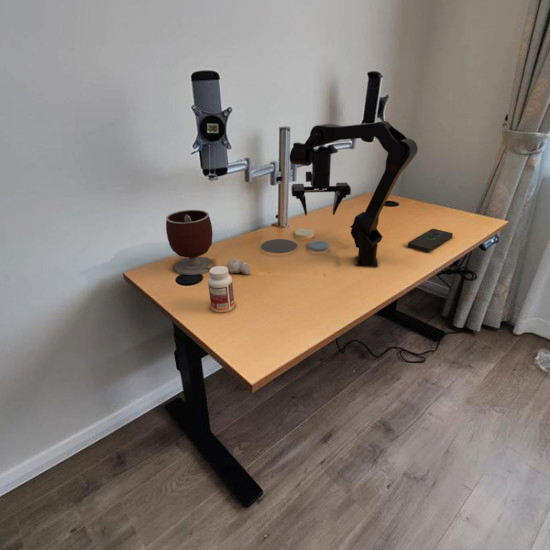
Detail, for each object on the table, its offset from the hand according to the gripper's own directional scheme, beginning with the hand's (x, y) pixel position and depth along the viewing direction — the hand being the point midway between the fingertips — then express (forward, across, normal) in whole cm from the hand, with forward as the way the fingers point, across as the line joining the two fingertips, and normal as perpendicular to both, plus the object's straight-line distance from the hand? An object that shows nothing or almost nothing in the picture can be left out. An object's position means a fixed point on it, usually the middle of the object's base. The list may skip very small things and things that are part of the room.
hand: (319, 214), depth 123 cm
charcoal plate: (+13, +14, -2) cm, 19 cm away
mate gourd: (+13, +42, +11) cm, 45 cm away
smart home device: (+13, -41, -5) cm, 44 cm away
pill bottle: (+13, +30, +35) cm, 48 cm away
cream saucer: (+13, +4, -13) cm, 19 cm away
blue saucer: (+13, 0, 0) cm, 13 cm away
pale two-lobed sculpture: (+13, +27, +16) cm, 34 cm away
